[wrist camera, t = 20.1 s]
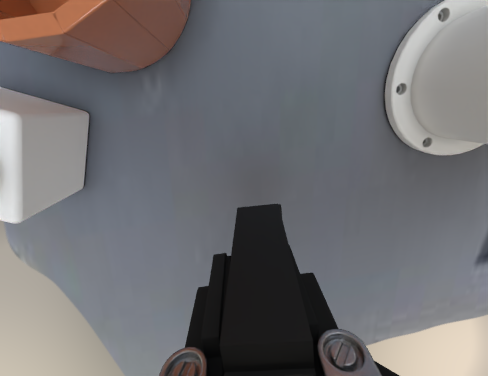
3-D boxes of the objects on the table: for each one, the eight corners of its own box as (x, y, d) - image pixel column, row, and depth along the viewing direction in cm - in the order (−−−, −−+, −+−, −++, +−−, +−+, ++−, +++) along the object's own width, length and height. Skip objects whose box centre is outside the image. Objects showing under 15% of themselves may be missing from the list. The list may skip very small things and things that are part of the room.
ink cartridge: (285, 273, 14) (322, 466, 7) (248, 275, 14) (244, 468, 7) (279, 199, 12) (322, 352, 5) (237, 204, 13) (217, 356, 5)
